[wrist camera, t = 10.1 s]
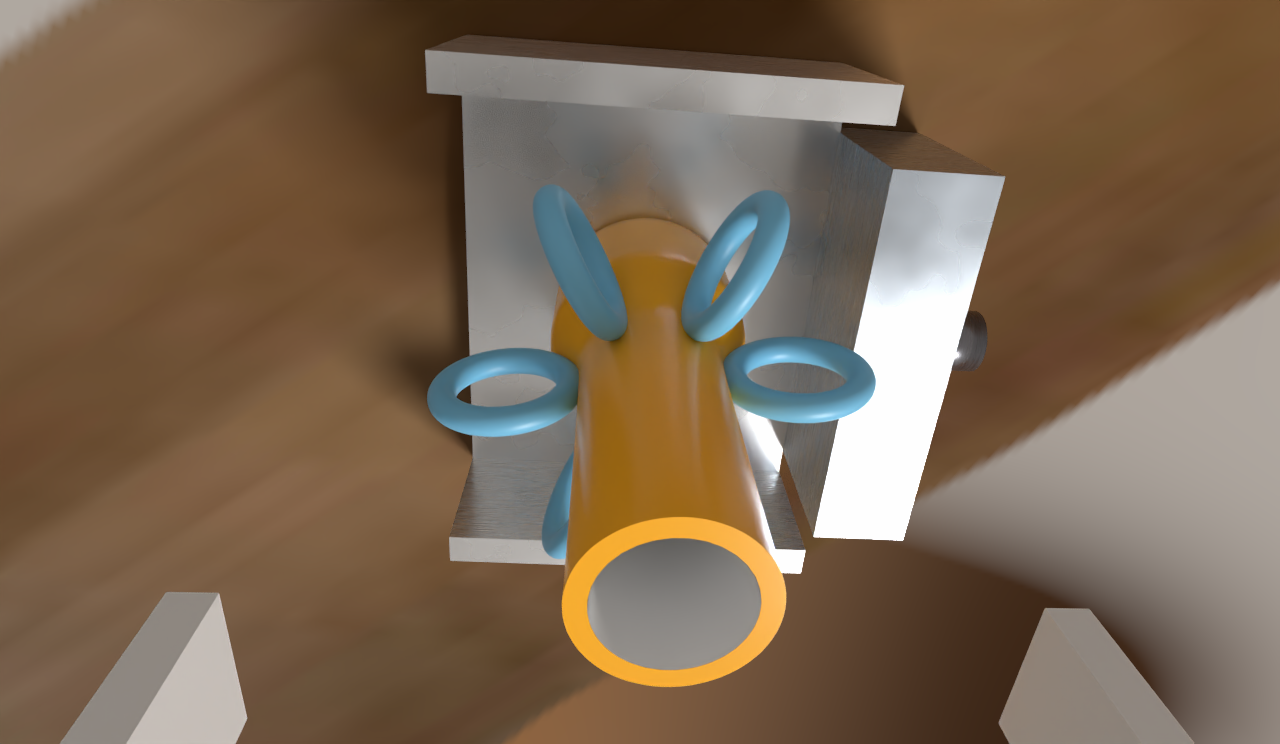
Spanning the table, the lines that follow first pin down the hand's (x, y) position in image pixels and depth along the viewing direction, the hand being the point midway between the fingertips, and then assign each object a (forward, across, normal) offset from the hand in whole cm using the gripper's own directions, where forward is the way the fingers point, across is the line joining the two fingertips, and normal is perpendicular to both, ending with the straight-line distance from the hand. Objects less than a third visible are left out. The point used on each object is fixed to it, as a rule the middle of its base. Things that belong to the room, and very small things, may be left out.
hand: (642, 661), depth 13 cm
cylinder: (+16, +1, 0) cm, 16 cm away
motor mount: (+17, +3, 0) cm, 18 cm away
